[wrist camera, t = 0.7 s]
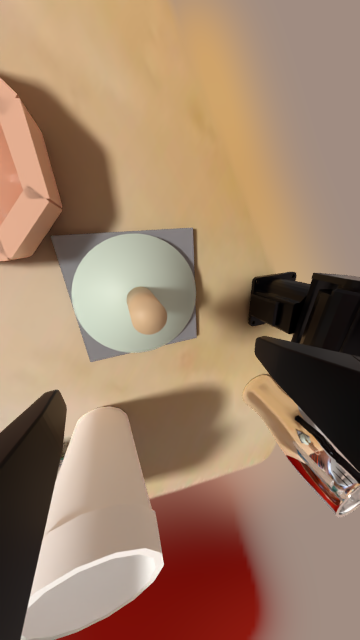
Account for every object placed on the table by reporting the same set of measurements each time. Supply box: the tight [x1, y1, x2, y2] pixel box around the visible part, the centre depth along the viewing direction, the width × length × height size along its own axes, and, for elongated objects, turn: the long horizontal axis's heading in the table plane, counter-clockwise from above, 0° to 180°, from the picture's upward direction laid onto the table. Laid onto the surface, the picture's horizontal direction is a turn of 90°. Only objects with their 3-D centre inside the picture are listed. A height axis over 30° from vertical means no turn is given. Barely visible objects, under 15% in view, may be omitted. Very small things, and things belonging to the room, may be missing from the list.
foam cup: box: [20, 406, 164, 640], centre depth 18 cm, size 10×9×13 cm
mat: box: [51, 228, 197, 362], centre depth 19 cm, size 12×12×1 cm
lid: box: [71, 234, 196, 353], centre depth 16 cm, size 12×12×6 cm
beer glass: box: [242, 375, 360, 517], centre depth 25 cm, size 7×7×15 cm
